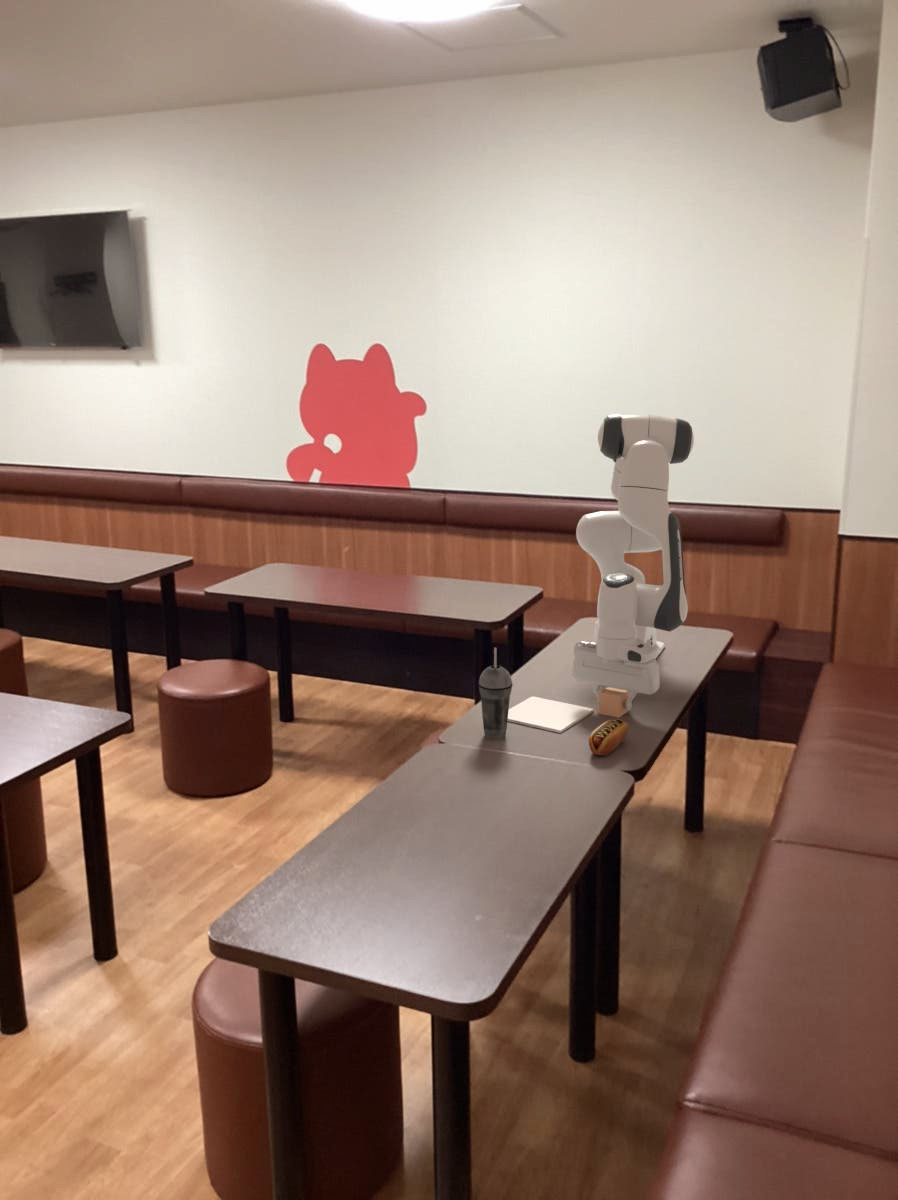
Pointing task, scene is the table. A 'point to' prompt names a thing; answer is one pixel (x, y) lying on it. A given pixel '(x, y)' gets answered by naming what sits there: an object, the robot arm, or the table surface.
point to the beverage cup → (495, 699)
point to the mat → (547, 714)
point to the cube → (612, 702)
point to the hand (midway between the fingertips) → (613, 705)
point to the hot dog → (607, 736)
